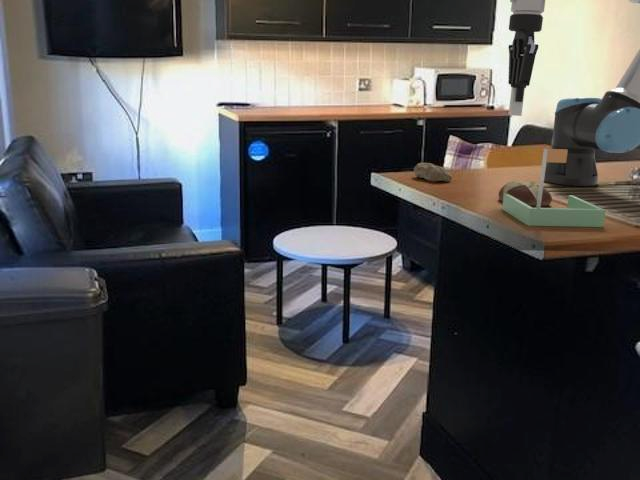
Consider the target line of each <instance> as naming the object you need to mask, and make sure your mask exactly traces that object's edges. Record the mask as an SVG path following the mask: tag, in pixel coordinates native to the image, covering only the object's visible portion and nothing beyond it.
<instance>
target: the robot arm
mask: <svg viewBox="0 0 640 480" xmlns="http://www.w3.org/2000/svg"><path fill="white" fill-rule="evenodd" d="M628 1H629V2H630V3H633V4H640V0H628ZM509 2H510V3H511V8H510V12H512V14H510V16H509V24H508V30H509V31H510V32H514V37H513V41H512V44H509V45H508V85H510V88H511V90H510V99H509V106H508V108H509V109H508V116H517V117H519V116H520V117H521V116H523V115H522V114H523V106H524V97H525V91H526V88H527V87H529V86H530V84H531V79H532V73H533V70H534V64H535V59H536V55H537V52H538V50H539V44H535V42H536V41H535V33H540V32H541V31H542V30H543V29H542V28H543V21H544V17H543V15H542V14H543V13H544V12H545V5H546V0H509ZM553 121H554V122H553V131H552V138H551V146H550V149H567V150H568V152H567V160H566V163H555V162H546V169H545V177H544V182H547V183H550V184H555V185H556V184H557V185H564V186H572V185H573V186H574V187H591V186H597V185H598V180H599V174H598V168H597V162H596V157H595V154H596V150H599V151H603V152H605V153H609V154H610V153H611V154H612V153H616V154H622V153H627V152H630V151H632V150H634V149H636V148H637V147H638V146H639V145H640V48H639V50H638V51H637V52H636V54H635V56H634V58H632V60H631V62H630V64H629V66H628V67H627V69H626V70H625V72H624V74H623V75H622V77H621V78H620V80H619V82H618V83H617V85H616V86H615V88H614V89H613V88H612V89H611V90H607V91H605V93H604V95H603V96H602V98H600V97H572V98H570V97H569V98H567V97H566V98H562V99H560V100H558V102H557V105H556V109H555V112H554V120H553ZM596 184H597V185H596Z"/></svg>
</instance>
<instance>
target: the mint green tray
mask: <svg viewBox="0 0 640 480" xmlns="http://www.w3.org/2000/svg"><path fill="white" fill-rule="evenodd" d="M567 152H568V150H567V149H551V148H543V153H542V161H541V167H540V176H539V177H540V178H539V184H538V185H539V191H538V199H537V206H535V207H533V206H529V205H527V204H525V203H523V202H522V201H520V200H518V199H516V198H515V197H513V196H511V195H509V194H504V197H503V202H502V206H501V207H502V208H501V209H502V210H503V211H504V212H506V213H507V214H509V215H511V216H512V217H514V218H515V219H516V220H518V221H520V222H522V223H523V224H524V225H526V226H530V227H531V226H537V227H574V228H575V227H579V228H580V227H581V228H582V227H583V228H585V227H587V228H589V227H590V228H604V224H605V223H604V222H605V217H606V212H607V211H606V209H604V208H601V207H599V206H597V205H595V204H593V203H591V202H588V201H586V200H584V199H582V198H579V197H577V196H575V195H572V194H571V195H568V199H567V205H566V208H564V207H561V208H559V207H557V208H556V207H542V206H541V200H542V192H543V188H544V184H545V181H544V177H545V169H546V162H555V163H566V160H567Z"/></svg>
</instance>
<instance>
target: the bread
mask: <svg viewBox="0 0 640 480" xmlns="http://www.w3.org/2000/svg"><path fill="white" fill-rule="evenodd" d="M538 191H539V184H536V183H535V182H533V181H527V182H525V183H521V182H520V181H519V180H515V181H512V182H508V183H506V184H504V185H503V186H502V187H501V188H500V189H499V191H498V199H499V200H500V201H501V202H502V203H503V197H504V194H509V195H511V196H513V197H515V198H516V199H518V200H520V201H522V202H523V203H525V204H527V205H529V206H531V207H536V206H537V199H538ZM552 199H553V198H552V195H551V193H550V191H548V190H547V188H544V187H543V192H542V200H541V207H547V206H549V205H551V203H552V202H553V200H552Z"/></svg>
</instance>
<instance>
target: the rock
mask: <svg viewBox="0 0 640 480" xmlns="http://www.w3.org/2000/svg"><path fill="white" fill-rule="evenodd" d="M413 173H414V175H415V176H416V177H417V178H418V177H420V178H419V179H421V178H424V179H423V180H427V181H428V182H434V183H435V182H440V181H441V182H443V181H444V182H445V183H449V182H450V181H451V180H452V178H453V176H452V174H451V173H449V171H448V169H446V168H445V167H442V166H439V165H435V164H433V163H431V162H419V163H417V164H416V165H415V166H414V168H413Z"/></svg>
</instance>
